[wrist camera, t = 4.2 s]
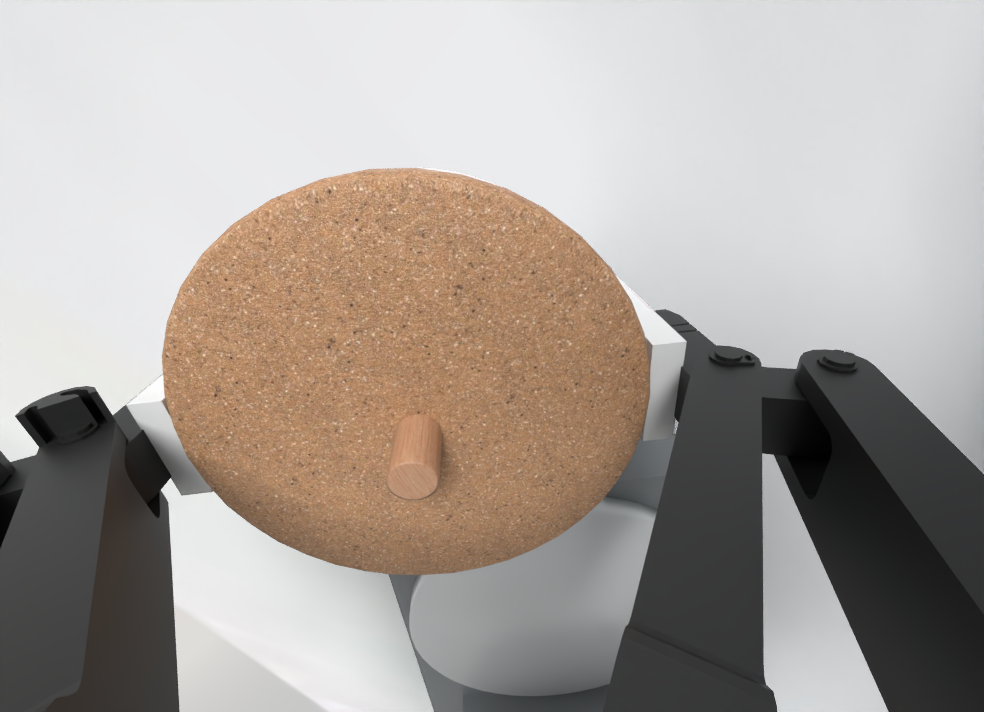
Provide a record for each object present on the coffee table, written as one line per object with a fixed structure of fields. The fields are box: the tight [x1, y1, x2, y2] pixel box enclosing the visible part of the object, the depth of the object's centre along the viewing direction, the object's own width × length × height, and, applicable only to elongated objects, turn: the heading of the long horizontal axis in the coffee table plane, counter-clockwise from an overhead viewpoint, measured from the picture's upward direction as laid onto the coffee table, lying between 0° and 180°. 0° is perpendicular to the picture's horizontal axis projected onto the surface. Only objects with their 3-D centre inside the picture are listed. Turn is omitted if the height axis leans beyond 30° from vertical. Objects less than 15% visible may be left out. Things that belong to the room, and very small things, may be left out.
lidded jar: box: [162, 167, 650, 575], centre depth 12 cm, size 11×11×9 cm
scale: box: [389, 434, 676, 712], centre depth 22 cm, size 16×22×9 cm
